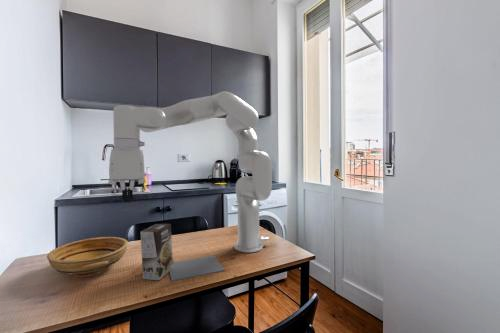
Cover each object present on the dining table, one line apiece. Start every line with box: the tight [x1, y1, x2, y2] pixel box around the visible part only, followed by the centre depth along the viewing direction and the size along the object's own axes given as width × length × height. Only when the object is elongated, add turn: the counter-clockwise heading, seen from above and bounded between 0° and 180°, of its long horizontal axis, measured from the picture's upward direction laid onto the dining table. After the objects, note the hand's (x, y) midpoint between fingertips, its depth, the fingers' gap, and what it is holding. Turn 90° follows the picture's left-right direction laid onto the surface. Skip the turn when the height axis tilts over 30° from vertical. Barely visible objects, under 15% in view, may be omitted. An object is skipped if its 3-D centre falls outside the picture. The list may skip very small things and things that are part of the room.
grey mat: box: [168, 255, 225, 282], centre depth 90 cm, size 18×14×1 cm
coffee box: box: [139, 223, 174, 281], centre depth 85 cm, size 9×6×16 cm
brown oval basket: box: [46, 236, 129, 278], centre depth 89 cm, size 30×24×8 cm
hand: (127, 201), depth 80 cm, fingers closed
